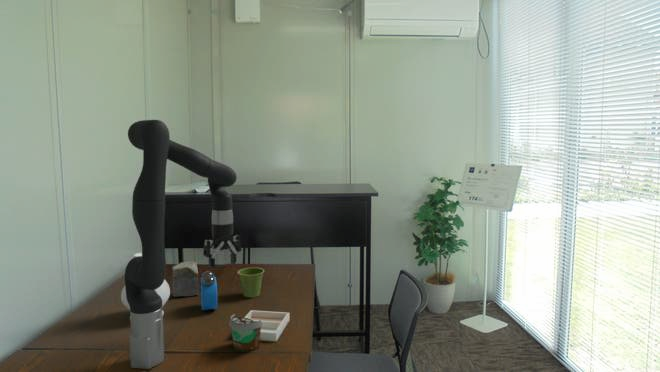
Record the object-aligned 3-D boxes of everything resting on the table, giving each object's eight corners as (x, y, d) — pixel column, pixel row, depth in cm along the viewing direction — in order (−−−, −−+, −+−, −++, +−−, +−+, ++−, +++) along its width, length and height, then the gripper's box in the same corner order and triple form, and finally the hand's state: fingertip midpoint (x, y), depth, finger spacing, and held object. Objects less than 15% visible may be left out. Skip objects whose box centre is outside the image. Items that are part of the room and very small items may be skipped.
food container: (221, 348, 146) (221, 319, 145) (233, 341, 151) (233, 313, 150) (251, 356, 140) (250, 327, 139) (262, 348, 145) (262, 320, 144)
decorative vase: (179, 310, 179) (177, 250, 176) (151, 327, 162) (148, 261, 159) (143, 305, 183) (140, 247, 181) (111, 322, 166) (108, 258, 164)
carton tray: (276, 341, 151) (276, 333, 150) (233, 338, 153) (233, 330, 153) (289, 320, 169) (289, 312, 168) (251, 317, 171) (250, 310, 171)
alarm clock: (217, 313, 175) (216, 277, 173) (201, 315, 173) (200, 279, 171) (215, 302, 187) (214, 268, 186) (200, 304, 185) (199, 269, 184)
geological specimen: (173, 299, 190) (172, 266, 189) (172, 295, 196) (171, 262, 194) (199, 296, 195) (198, 263, 193) (197, 291, 200) (196, 259, 199)
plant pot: (252, 289, 204) (252, 265, 203) (270, 294, 197) (269, 270, 195) (232, 296, 195) (231, 271, 194) (249, 302, 187) (249, 276, 186)
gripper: (210, 225, 150) (210, 271, 151) (245, 221, 160) (245, 264, 161) (199, 222, 155) (200, 267, 157) (233, 218, 165) (234, 260, 167)
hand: (222, 265), depth 159 cm, fingers open, 8 cm apart
